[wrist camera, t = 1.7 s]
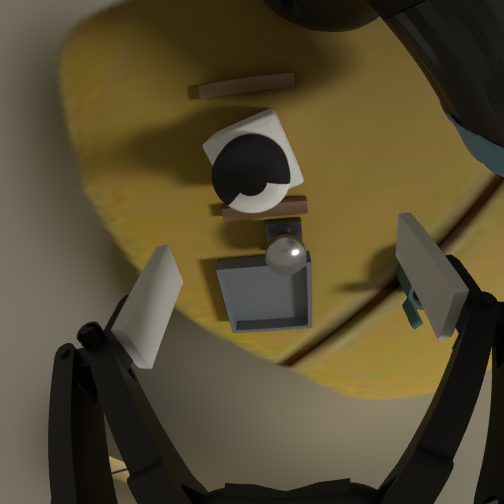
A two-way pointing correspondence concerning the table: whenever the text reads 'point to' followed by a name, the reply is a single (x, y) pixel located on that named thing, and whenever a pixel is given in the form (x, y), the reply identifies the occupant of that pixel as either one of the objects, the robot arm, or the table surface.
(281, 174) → the medicine bottle
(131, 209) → the table surface
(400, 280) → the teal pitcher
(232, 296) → the tray
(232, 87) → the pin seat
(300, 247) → the knob
